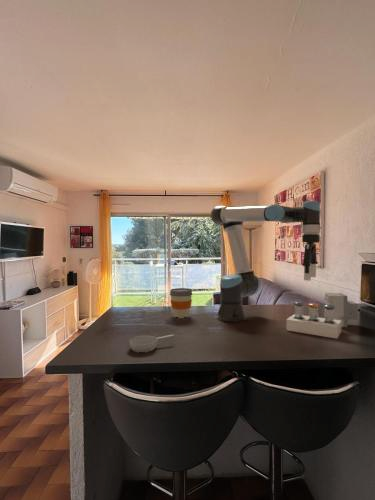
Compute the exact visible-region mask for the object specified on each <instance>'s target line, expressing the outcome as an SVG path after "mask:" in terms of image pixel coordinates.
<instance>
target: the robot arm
mask: <svg viewBox="0 0 375 500" xmlns="http://www.w3.org/2000/svg"><path fill="white" fill-rule="evenodd" d="M210 218H211V221H212V222H213V223H214V224H216V225H217V226H222V228H223V231H224V232H225V233H226V234H227V239H228V244H229V247H230V252H231V257H232V260H233V261H232V262H233V266H234V270H235V271H234V273H233V274H232V273H231V274H226V275H223V276H222V277H221V278H220V283H219V287H220V288H219V289H220V291H219V292H220V293H219V294H220V305H219V309H218V310H217V311H218V312H217V320H219V321H223V322H231V323H234V322H235V323H236V322H237V323H238V322H243V321H245V320H246V318H247V317H246V312H245V309H244V306H243V298H245V297H250V296H253V295H256V294H258V292H259V290H260V288H261V281H260V278H259V277H258V276H257V275H255V272H254V269H252V268H251V266H250V262H249V259H248V254H247V249H246V246H245V241H244V236H243V232H242V229H243V227H244V225H243V223H244V222H280V223H281V224H282V223H283V224H290V223H292V224H293V223H302V228H301V231H302V232H301V233H302V236H301V237H302V240H301V242H302V243H305V244H304V254H303V263H302V264H301V265H302V267H303V281H311V280H312V279H311V278H317V265H318V264H319V262H318V260H317V259H318V258H317V245H316V243H320V232H321V231H320V230H322V227H321V222H320V221H321V204H320V202H319V201H318V200H307V201H304V202H302V206H294V207H292V206H284V205H279V204H270V205H256V206H255V205H253V206H230V205H229V206H228V205H222V204H221V205H216V206H214V207H213V209H211V212H210Z"/></svg>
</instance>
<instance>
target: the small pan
mask: <svg viewBox="0 0 375 500" xmlns="http://www.w3.org/2000/svg"><path fill="white" fill-rule="evenodd" d="M174 336H175V334H174V333H173V334H169V335H168V334H167V335H163V336H159V337H156V336H154V335H138V336H134V337H132V338H131V339H129V346H130V349H131V350H132V351H133V352H135V353H139V352H145V353H150V352H152V351H154V350H155V348H156V347H157V345H158V340H163V339H166V338H171V337H174ZM149 351H150V352H149Z"/></svg>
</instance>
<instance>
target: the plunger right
mask: <svg viewBox="0 0 375 500" xmlns="http://www.w3.org/2000/svg"><path fill="white" fill-rule="evenodd" d="M323 308H324V318H325V323H330V324H334V308H335V306H333V305H327V304H324V305H323Z"/></svg>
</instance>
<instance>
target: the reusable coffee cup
mask: <svg viewBox="0 0 375 500" xmlns="http://www.w3.org/2000/svg"><path fill="white" fill-rule="evenodd" d="M192 295H193V290H192V288H188V287H187V288H186V287H179V288H178V287H177V288H172V289H170V291H169V296H170V306H171V309H172V316H173V318H175V317H178V318H177V319H185V318H184V317H187V318H189V317H190V312H191V308H192V300H193V299H192ZM188 316H189V317H188Z"/></svg>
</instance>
